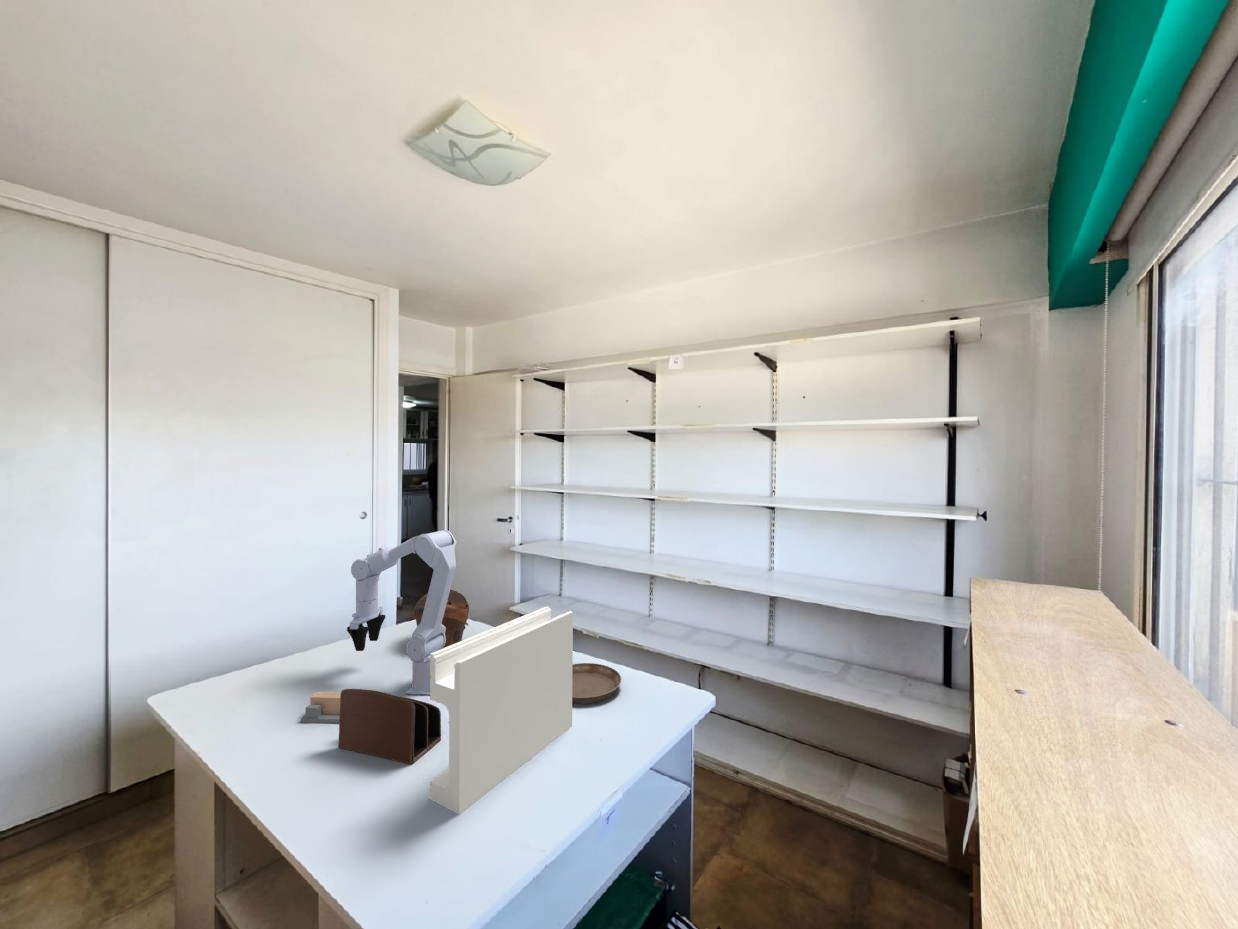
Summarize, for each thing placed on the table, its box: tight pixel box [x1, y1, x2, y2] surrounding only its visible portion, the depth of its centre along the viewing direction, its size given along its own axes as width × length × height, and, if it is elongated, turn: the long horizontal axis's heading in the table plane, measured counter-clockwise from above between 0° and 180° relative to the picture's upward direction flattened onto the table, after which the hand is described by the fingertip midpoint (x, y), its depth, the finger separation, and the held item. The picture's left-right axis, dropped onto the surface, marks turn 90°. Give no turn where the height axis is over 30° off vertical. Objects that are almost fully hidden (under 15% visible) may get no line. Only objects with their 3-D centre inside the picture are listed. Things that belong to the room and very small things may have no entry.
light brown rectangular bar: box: [309, 691, 342, 714], centre depth 127 cm, size 14×3×4 cm, turn 88°
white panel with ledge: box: [429, 606, 574, 815], centre depth 110 cm, size 35×8×28 cm, turn 150°
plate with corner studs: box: [300, 704, 340, 724], centre depth 127 cm, size 16×8×4 cm, turn 88°
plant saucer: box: [572, 662, 622, 705], centre depth 143 cm, size 21×21×3 cm
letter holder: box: [338, 688, 442, 766], centre depth 115 cm, size 10×20×14 cm, turn 73°
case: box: [411, 589, 470, 649], centre depth 172 cm, size 18×20×18 cm
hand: (367, 645), depth 148 cm, fingers open, 7 cm apart
